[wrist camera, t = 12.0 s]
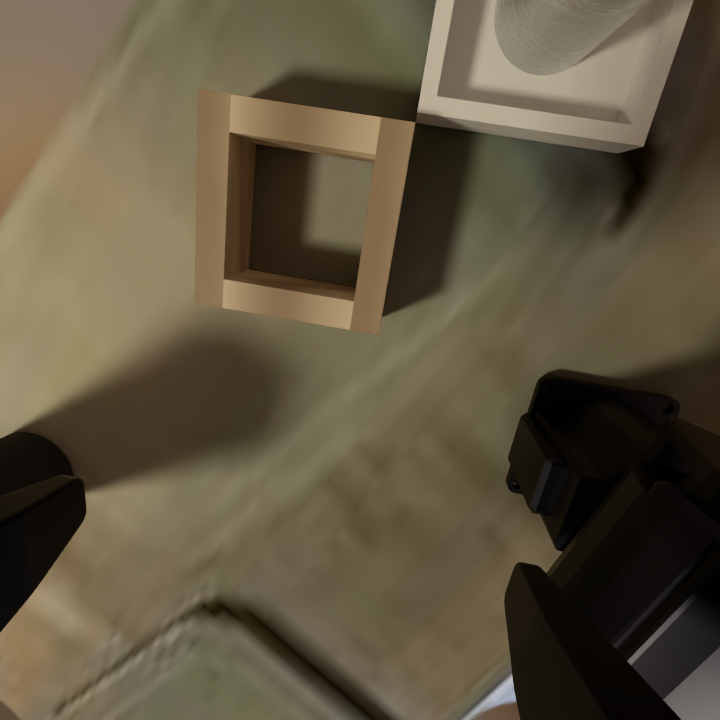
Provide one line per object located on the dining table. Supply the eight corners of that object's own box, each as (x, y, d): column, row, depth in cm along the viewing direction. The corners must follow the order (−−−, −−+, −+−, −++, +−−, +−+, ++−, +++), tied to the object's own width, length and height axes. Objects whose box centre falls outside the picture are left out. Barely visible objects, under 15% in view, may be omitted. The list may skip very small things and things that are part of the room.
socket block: (413, 136, 18) (415, 122, 15) (382, 317, 20) (378, 334, 17) (230, 108, 18) (198, 89, 15) (223, 290, 21) (194, 303, 18)
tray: (703, -114, 14) (749, -162, 12) (617, 153, 17) (643, 146, 15) (461, -144, 15) (470, -196, 13) (415, 122, 17) (417, 112, 16)
